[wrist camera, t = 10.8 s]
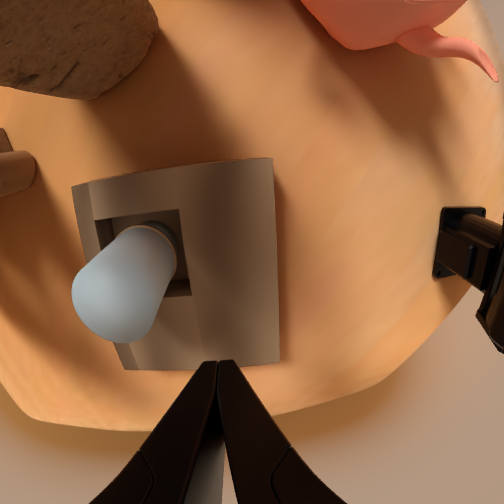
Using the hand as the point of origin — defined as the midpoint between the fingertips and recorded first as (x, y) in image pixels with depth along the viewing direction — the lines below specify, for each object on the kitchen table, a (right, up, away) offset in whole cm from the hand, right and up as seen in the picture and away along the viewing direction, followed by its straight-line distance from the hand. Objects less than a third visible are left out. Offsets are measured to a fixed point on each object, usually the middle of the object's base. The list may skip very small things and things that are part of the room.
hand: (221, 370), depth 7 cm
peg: (-6, +4, +11) cm, 13 cm away
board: (-4, +2, +12) cm, 13 cm away
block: (-10, +19, +6) cm, 22 cm away
